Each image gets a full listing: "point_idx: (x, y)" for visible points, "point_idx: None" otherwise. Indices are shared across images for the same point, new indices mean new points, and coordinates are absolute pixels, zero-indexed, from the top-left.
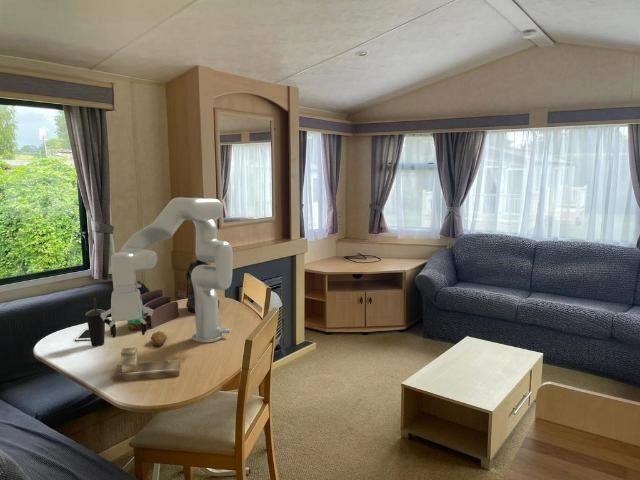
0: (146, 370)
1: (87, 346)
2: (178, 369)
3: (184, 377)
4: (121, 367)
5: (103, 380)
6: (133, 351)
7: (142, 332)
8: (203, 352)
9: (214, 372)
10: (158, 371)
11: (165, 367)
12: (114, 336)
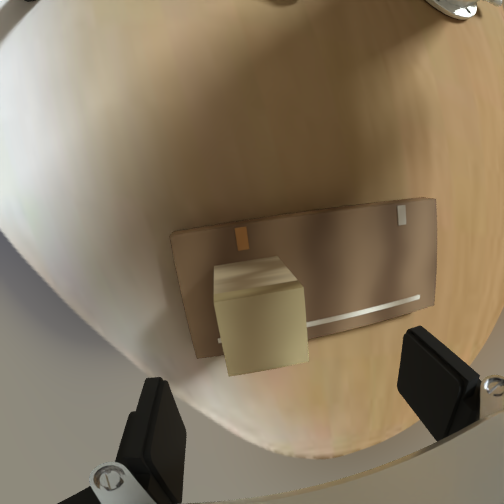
0: (326, 306)
1: (12, 7)
2: (432, 296)
3: (434, 308)
4: (201, 268)
5: (155, 330)
6: (298, 352)
7: (410, 402)
8: (464, 95)
9: (493, 272)
10: (372, 316)
11: (394, 278)
12: (182, 438)
